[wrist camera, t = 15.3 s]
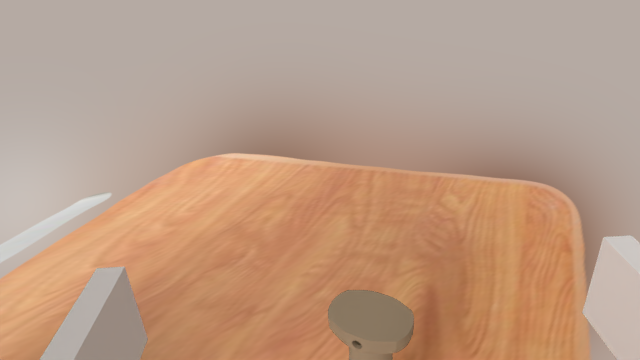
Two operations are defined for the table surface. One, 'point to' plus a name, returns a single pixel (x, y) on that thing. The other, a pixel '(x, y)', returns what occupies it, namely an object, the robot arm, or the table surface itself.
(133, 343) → the robot arm
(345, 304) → the handle
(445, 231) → the table surface
